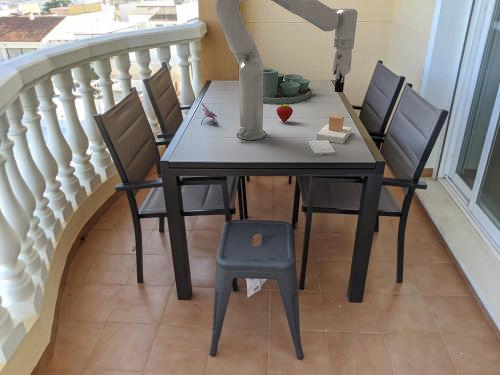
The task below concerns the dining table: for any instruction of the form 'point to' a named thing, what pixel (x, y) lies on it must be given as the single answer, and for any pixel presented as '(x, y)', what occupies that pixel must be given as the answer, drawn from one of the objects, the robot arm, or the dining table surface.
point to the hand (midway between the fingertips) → (338, 91)
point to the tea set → (284, 87)
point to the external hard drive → (322, 147)
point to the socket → (334, 134)
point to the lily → (208, 113)
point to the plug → (336, 122)
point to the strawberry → (284, 112)
